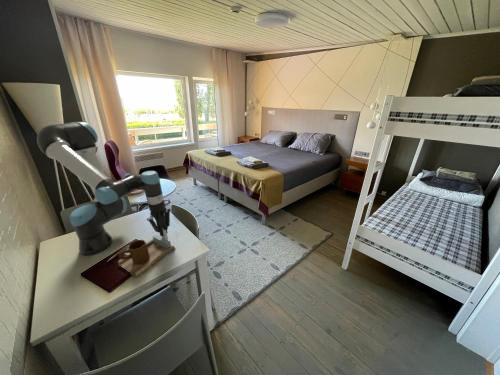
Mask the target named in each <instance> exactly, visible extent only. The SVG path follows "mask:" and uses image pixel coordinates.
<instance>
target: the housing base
mask: <svg viewBox="0 0 500 375" xmlns="http://www.w3.org/2000/svg"><path fill="white" fill-rule="evenodd" d="M145 243H146V245H147V248H148V252H149V255H150V257H149V260H148V261H147V262H145V263H143V264H140V265H136V264H134V263H133V261H132V259H121V258H120V259H119V260H118V261H117V262H118V263H117V265H119V266H118V267H120V266H121V267H122V268H124V269H125V270H127V271H128V272H130V273H131V274H130V273H129V274H130V275H131V276H133V277H134V278H135V279H138V278H140V276H142V275H143V274H144V273H146V272H147V271H148V270H150V269H151V268H152V267H154V266H155V265H157V264H158V263H159V262H161V261H162V260H163V259H164V258H166V257H167V256H169V255H170V254H171V253H173V252H174V251H175V250H176V247H175V246H174V244H171V247H169V248H168V249H166V248H164V247H162V246H160V245H158V244H156V243H154V240H153V238H152V239H151V240H149V241H148V242H145ZM127 255H130V253H127ZM121 267H120V268H121ZM122 268H121V269H122ZM124 269H123V270H124ZM125 270H124V271H125ZM127 271H126V272H127ZM128 272H127V273H128Z"/></svg>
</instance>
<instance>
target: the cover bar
mask: <svg viewBox="0 0 500 375" xmlns="http://www.w3.org/2000/svg"><path fill="white" fill-rule="evenodd" d="M152 239H153V240H154V243H156V244H158V245H160V246H162V247H164V248H166V249H168V248H169V247H171V246H172V244H171V243H172V242H171V240H169V239H168V240H166V239H164V238H162V236H160V235H158V234H154V235H153V236H152Z"/></svg>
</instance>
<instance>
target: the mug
mask: <svg viewBox="0 0 500 375" xmlns="http://www.w3.org/2000/svg"><path fill="white" fill-rule="evenodd" d="M146 243H147V242H146V241H145V240H144V239H138V240H134V241H133V242H131V243H130V244H129V245H128V249H123V250H121V251H120V252H119V253H118V257H119V259H120V260H121V259H132V261H133V263H134V264H136V265H140V264H143V263H145V262H147V261H148V260H149V257H150V255H149V252H148V248H147V245H146ZM123 254H127V255H123ZM128 254H130V255H128Z"/></svg>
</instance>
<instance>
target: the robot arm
mask: <svg viewBox="0 0 500 375" xmlns="http://www.w3.org/2000/svg"><path fill="white" fill-rule="evenodd" d="M98 137H99V136H98V134H97V132H96V130H95V129H94V128H93V127H92V126H91V125H90V124H89V123H87V122H84V121H73V122H64V123H58V124H49V125H46V126H44V127H42V128H41V129H40V130H39V131H38V133H37V136H36V143H37V146H38V148H39V149H40V151H41V153H43V154H44V155H45V156H46V157H47V158H49V159H51V160H52V159H53V160H56V161H57V162H58V163H60V164H61V165H62V166H64V167H65V168H66V169H68V171H70V172H71V173H72V174H74V175H75V176H76V177H77V178H79V179H80V180H82V182H84V183H85V184H86V185H88V186H89V187H90V189H91V191H92V193H93V196H94V199H93V202H94V204H92V203H91V204H90V203H89V204H85V205H81V206H79V207H78V208H75V209H74V210H73V211H72V212H71V213H70V215H69V220H70V221H69V222H70V224H71V226H72V228H73V230H74V231H75V232H74V233H75V234H76V236H77V238H78V250H79V252H80V254H81V255H83V256H93V255H96V254H99V253H103V252H104V251H105V250H107V249H109V248H110V247H111V246H112V244H113V242H114V238H113V237H112V235H110V234H109V232H107V230H106V229H105V226H104V225H105V224H107V223H108V222H110V221H112V220H114V219H116V218H117V217H119V216H121V215H123V214H124V213H125V212H126V210H127V208H128V206H127V202H126V199H125V198H124V197H126V196H127V195H129V194H132V193H133V192H136V191H144V193H145V198H146V201H147V205H148V209H149V213H150V214H149V215H150V216H149V217H147V218H146V221H147V222H149V224H150V225H151V227H152V228H153V230H154V232H156V233H159V236H160V237H162V238H164V239H166V240H168V241H169V238H168V233H169V232H168V229H169V227H170V224H171V223H170V222H171V220H170V219H171V218H170V217H171V214H170V213H171V208H168V207H166V202H165V200H164V199H165V198H164V194H163V191H162V185H161V179H160V177H159V174H158V172H157V171H155V170H147V171H144V172H142V173H141V174H139V173H138V174H137V173H133V172H132V173H125V174H124V175H123V176H122V177H121V179H118V180H117V181H113V180H112V179H111V178H110V177H108V176H107V175H106V173H105V170H104V169H103V166H102V164H101V162H100V159H99V158H98V154H96V151H95V150H96V148H97V144H96V143H97V142H98Z"/></svg>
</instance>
